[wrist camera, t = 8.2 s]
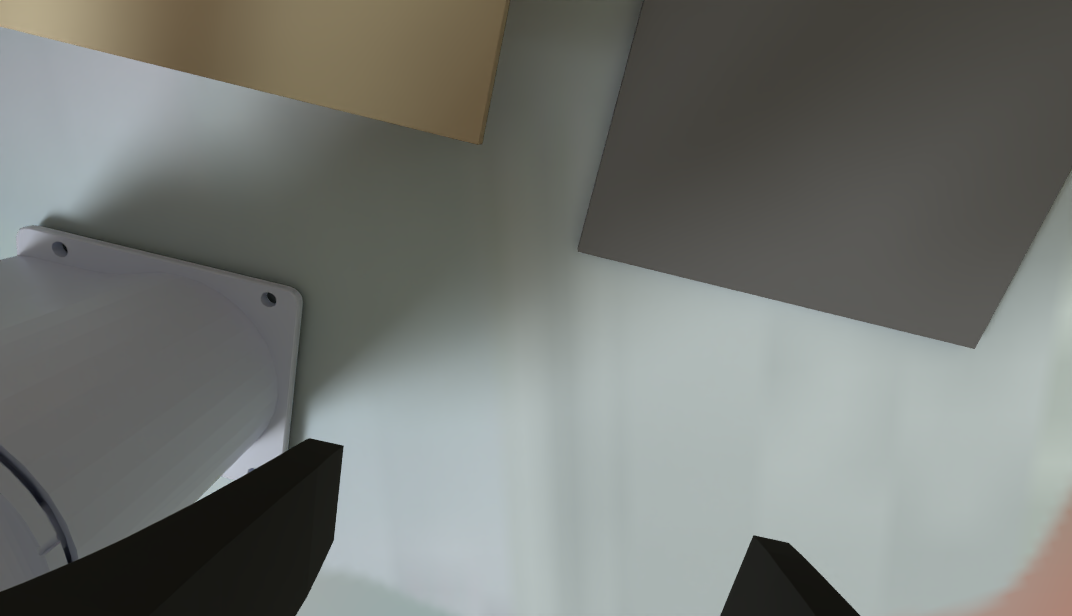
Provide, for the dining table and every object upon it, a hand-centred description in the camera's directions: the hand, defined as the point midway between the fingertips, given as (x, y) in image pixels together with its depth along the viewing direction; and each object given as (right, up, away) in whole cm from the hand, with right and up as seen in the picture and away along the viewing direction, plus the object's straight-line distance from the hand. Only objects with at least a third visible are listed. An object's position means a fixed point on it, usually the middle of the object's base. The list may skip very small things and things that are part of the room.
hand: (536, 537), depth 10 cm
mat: (+9, +10, +6) cm, 15 cm away
